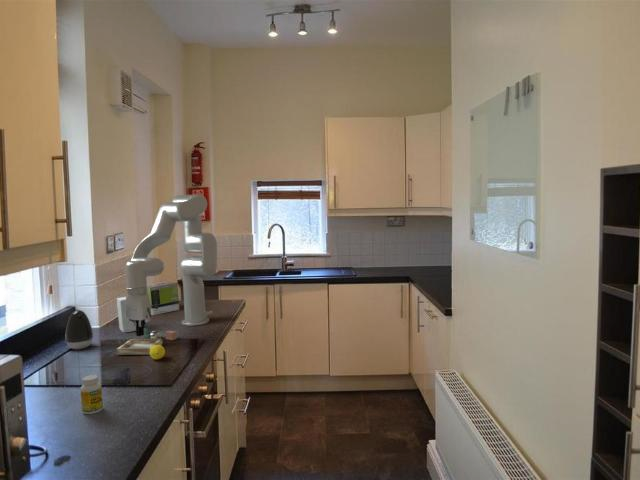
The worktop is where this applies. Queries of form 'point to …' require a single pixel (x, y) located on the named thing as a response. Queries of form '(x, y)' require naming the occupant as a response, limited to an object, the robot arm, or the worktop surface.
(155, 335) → the hub
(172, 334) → the pink rectangular block
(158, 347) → the lemon
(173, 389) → the worktop surface
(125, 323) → the skincare box
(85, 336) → the grey dome gadget
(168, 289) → the tea box
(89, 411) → the supplement bottle
